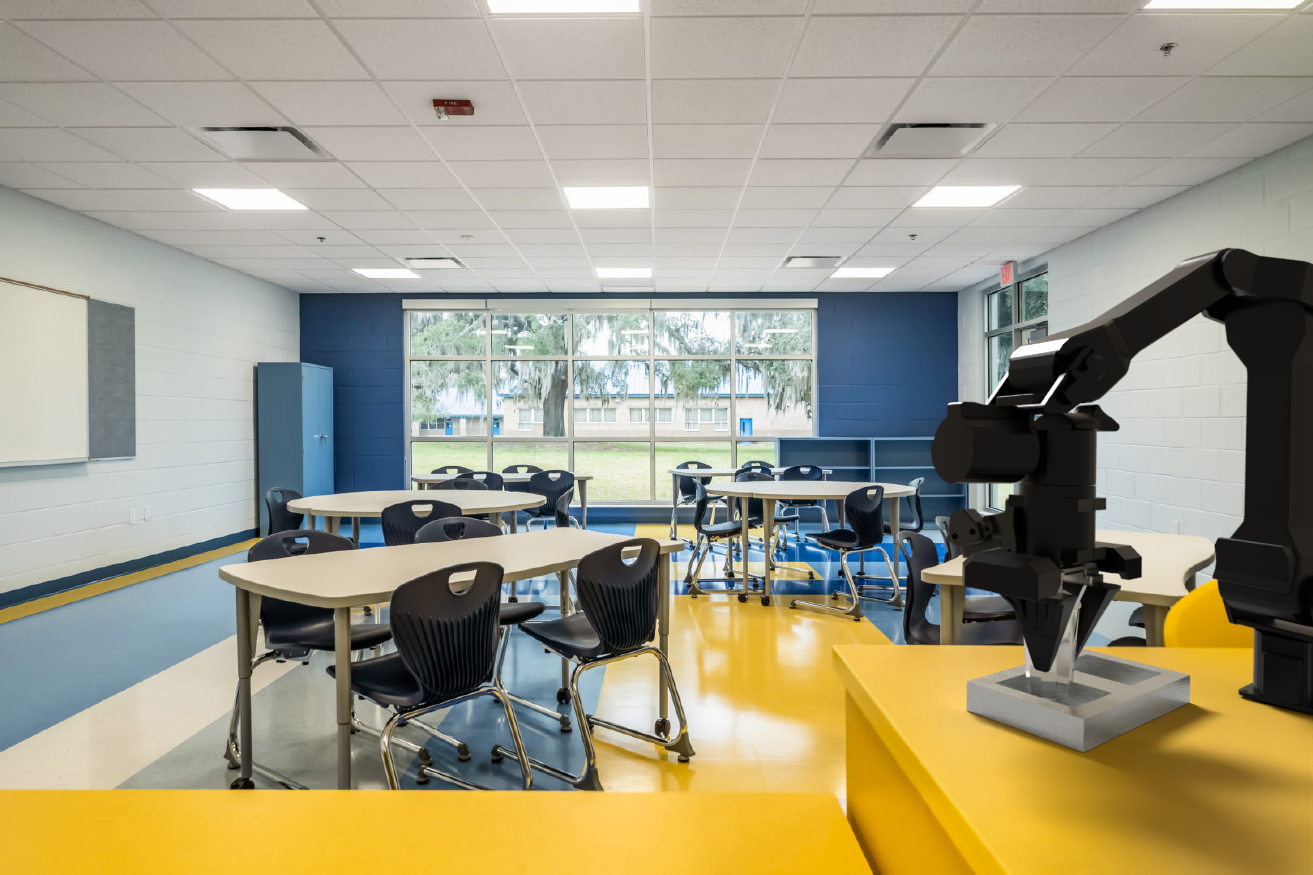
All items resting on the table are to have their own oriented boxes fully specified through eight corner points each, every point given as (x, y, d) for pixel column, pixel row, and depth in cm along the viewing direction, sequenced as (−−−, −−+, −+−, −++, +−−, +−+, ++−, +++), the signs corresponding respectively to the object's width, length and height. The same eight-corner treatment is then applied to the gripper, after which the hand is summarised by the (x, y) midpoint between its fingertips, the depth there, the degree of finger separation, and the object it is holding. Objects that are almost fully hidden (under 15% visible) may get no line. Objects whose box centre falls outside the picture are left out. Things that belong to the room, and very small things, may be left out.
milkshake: (1065, 711, 55) (1067, 587, 55) (1007, 689, 60) (1008, 575, 60) (1101, 703, 57) (1103, 583, 57) (1042, 682, 62) (1043, 571, 62)
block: (1079, 672, 71) (1079, 647, 71) (1189, 702, 63) (1190, 674, 63) (966, 710, 60) (967, 681, 60) (1083, 752, 52) (1083, 719, 52)
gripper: (1021, 478, 71) (1019, 629, 70) (907, 480, 60) (904, 658, 60) (1145, 484, 61) (1143, 659, 61) (1035, 489, 51) (1033, 699, 51)
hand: (1054, 666), depth 59 cm, fingers closed on milkshake, 4 cm apart
